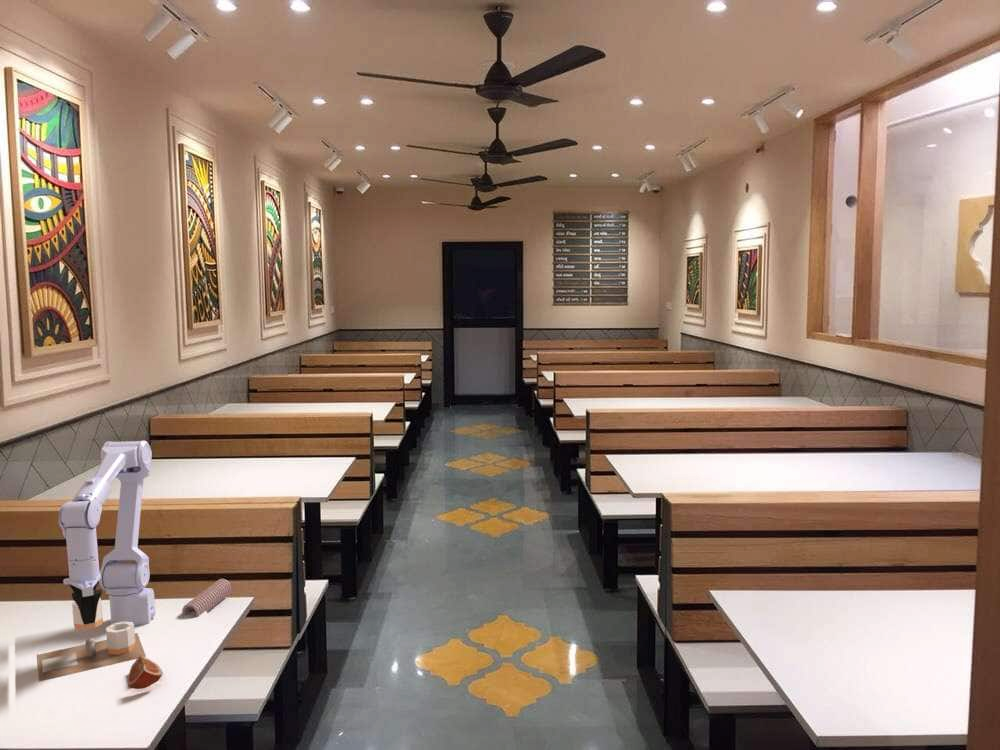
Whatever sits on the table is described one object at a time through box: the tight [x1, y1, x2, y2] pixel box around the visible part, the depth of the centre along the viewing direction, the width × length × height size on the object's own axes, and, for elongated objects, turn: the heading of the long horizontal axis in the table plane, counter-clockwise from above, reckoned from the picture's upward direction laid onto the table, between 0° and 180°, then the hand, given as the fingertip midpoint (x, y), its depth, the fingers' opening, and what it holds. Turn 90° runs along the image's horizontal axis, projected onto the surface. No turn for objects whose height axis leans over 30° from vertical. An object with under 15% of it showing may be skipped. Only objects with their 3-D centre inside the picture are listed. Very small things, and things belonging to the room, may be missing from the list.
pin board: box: [36, 632, 147, 682], centre depth 175 cm, size 20×14×5 cm
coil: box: [181, 578, 232, 618], centre depth 204 cm, size 5×5×18 cm
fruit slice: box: [126, 655, 164, 690], centre depth 165 cm, size 8×7×5 cm
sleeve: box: [71, 597, 104, 631], centre depth 174 cm, size 5×5×5 cm
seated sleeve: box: [105, 621, 136, 655], centre depth 178 cm, size 5×5×5 cm
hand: (88, 618), depth 174 cm, fingers closed on sleeve, 5 cm apart
